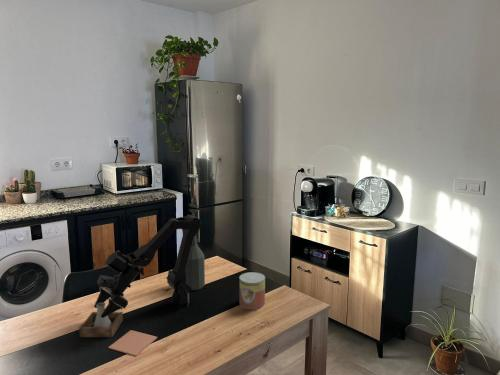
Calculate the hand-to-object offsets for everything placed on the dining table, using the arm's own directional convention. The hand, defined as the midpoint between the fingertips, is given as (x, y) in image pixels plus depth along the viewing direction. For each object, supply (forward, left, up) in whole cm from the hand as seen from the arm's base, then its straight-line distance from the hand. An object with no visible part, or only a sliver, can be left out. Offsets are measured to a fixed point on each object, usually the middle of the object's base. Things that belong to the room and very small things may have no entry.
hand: (98, 312), depth 144 cm
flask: (-1, -1, -7) cm, 7 cm away
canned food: (-59, -22, -7) cm, 63 cm away
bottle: (-31, -39, -7) cm, 50 cm away
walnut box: (-1, -1, -7) cm, 7 cm away
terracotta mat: (-16, +9, -7) cm, 20 cm away
